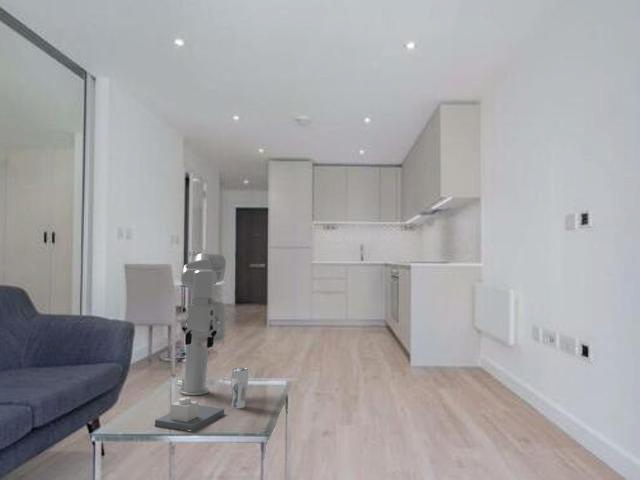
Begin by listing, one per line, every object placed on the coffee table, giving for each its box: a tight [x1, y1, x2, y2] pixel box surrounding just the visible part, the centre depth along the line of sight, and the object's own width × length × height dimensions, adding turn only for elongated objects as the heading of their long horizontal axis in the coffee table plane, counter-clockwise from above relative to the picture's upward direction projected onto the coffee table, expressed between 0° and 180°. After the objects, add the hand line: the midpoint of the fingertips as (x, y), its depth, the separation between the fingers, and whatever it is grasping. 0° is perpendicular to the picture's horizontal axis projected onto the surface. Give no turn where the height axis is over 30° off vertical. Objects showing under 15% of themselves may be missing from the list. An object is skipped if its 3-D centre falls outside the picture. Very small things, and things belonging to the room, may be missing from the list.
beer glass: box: [230, 367, 249, 410], centre depth 184 cm, size 7×7×15 cm
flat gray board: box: [154, 404, 225, 432], centre depth 165 cm, size 15×22×6 cm
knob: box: [170, 396, 199, 422], centre depth 161 cm, size 7×7×7 cm
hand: (198, 345), depth 176 cm, fingers open, 9 cm apart
